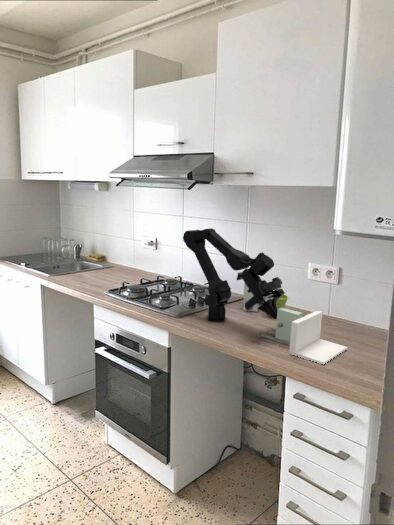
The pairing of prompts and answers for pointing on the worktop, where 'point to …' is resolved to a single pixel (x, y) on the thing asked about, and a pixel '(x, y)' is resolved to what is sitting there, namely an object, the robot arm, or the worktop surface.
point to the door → (285, 323)
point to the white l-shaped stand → (310, 340)
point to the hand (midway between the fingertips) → (278, 318)
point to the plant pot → (281, 302)
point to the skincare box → (248, 296)
